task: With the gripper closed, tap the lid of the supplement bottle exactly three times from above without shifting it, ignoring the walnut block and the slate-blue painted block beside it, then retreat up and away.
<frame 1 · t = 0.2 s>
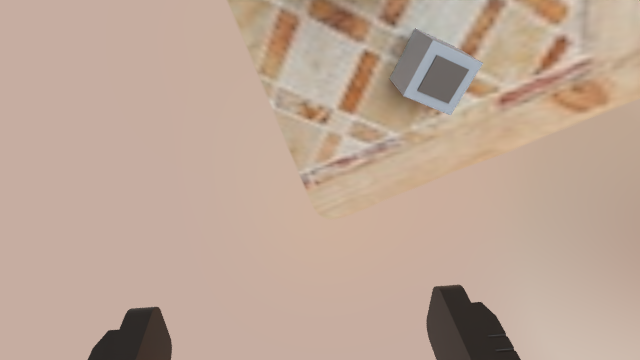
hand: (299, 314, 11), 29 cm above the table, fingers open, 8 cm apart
slate-blue block: (423, 63, 37), on the table
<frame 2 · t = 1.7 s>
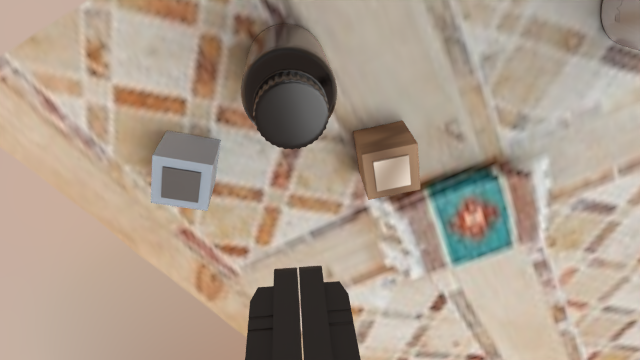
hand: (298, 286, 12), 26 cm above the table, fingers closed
slate-blue block: (192, 157, 38), on the table
supplement bottle: (287, 62, 34), on the table
walnut block: (380, 147, 39), on the table
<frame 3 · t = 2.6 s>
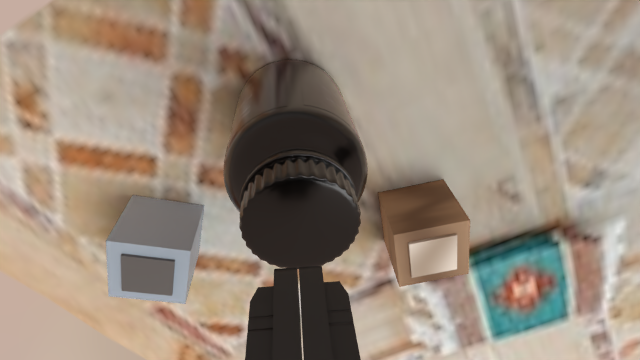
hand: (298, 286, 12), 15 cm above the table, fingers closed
slate-blue block: (167, 225, 29), on the table
supplement bottle: (292, 108, 25), on the table
walnut block: (412, 211, 30), on the table
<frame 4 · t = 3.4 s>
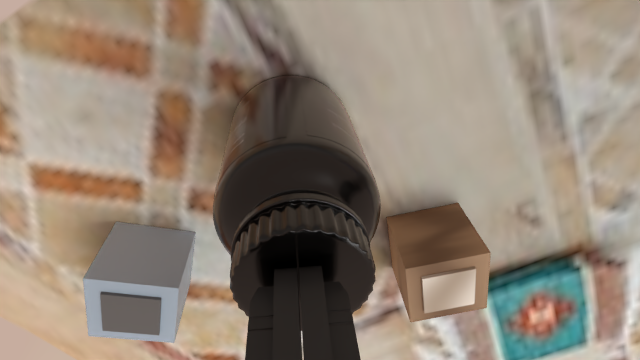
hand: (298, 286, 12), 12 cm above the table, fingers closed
slate-blue block: (155, 253, 27), on the table
supplement bottle: (292, 127, 23), on the table, touching gripper
walnut block: (423, 236, 28), on the table
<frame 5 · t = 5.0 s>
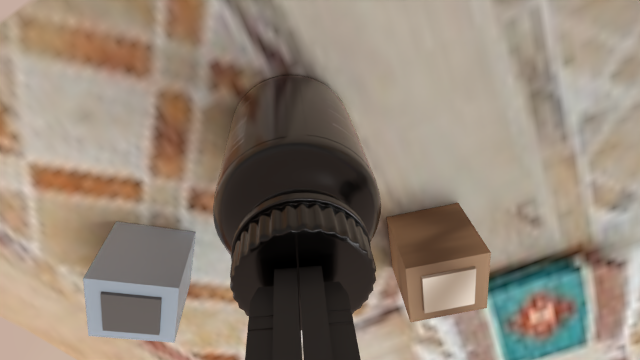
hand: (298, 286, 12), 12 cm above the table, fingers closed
slate-blue block: (155, 253, 27), on the table
supplement bottle: (292, 127, 23), on the table, touching gripper
walnut block: (423, 236, 28), on the table
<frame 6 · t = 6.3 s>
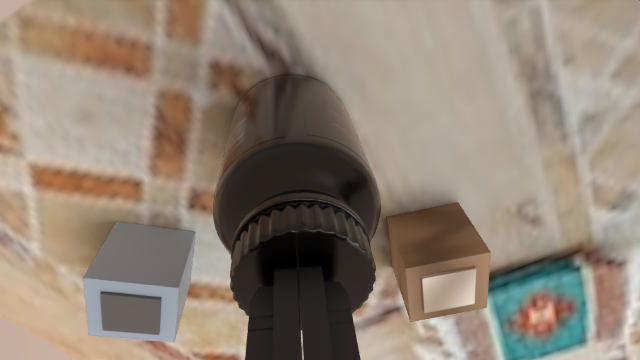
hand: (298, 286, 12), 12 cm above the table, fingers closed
slate-blue block: (156, 253, 27), on the table
supplement bottle: (292, 127, 23), on the table, touching gripper
walnut block: (423, 235, 28), on the table
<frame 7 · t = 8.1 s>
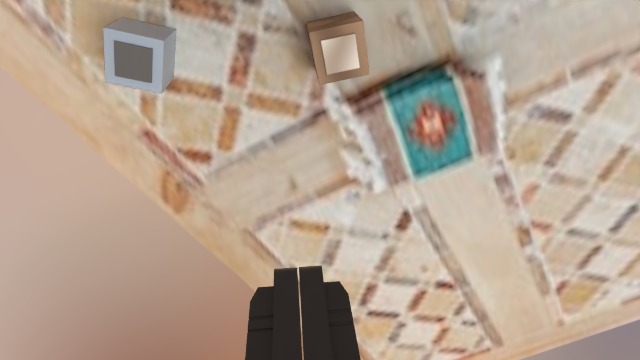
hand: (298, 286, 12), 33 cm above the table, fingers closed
slate-blue block: (149, 48, 39), on the table
walnut block: (334, 41, 41), on the table
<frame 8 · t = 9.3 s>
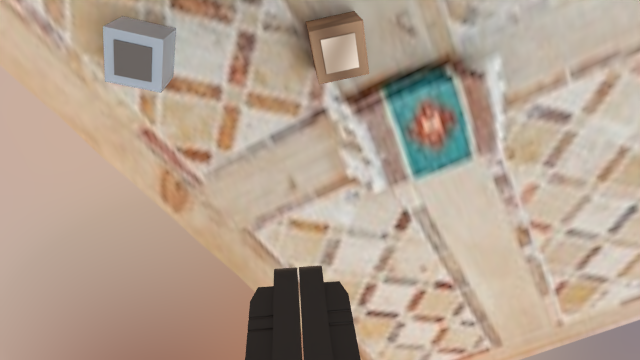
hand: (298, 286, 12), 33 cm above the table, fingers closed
slate-blue block: (149, 47, 39), on the table
walnut block: (334, 41, 41), on the table
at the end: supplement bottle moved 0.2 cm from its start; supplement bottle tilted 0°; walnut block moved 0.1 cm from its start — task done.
